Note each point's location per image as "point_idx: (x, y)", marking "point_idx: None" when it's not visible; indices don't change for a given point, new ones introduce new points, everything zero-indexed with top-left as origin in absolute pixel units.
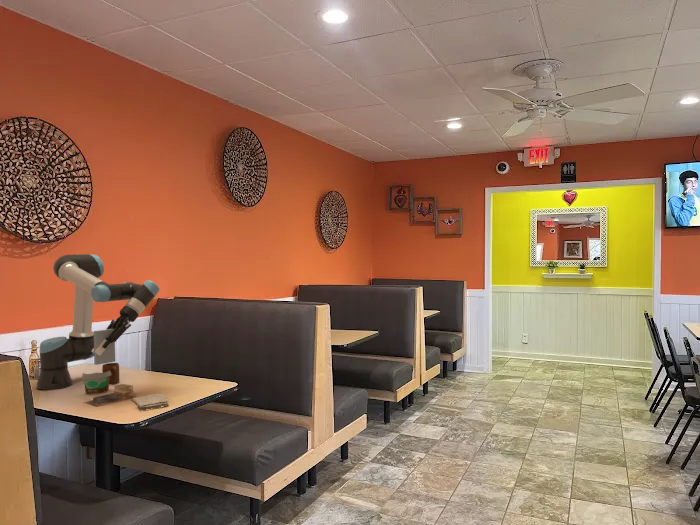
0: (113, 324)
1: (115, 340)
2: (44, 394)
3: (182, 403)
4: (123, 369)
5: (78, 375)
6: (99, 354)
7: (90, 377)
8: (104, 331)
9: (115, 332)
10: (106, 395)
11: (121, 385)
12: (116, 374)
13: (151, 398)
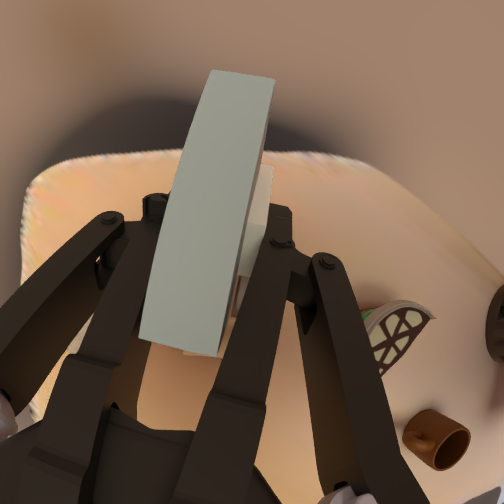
0: (221, 418)
1: (99, 261)
2: (474, 261)
3: None
4: (472, 493)
5: None
6: None
7: (381, 309)
8: (180, 177)
9: (68, 266)
10: (241, 279)
11: (224, 336)
12: (402, 438)
13: (88, 323)
